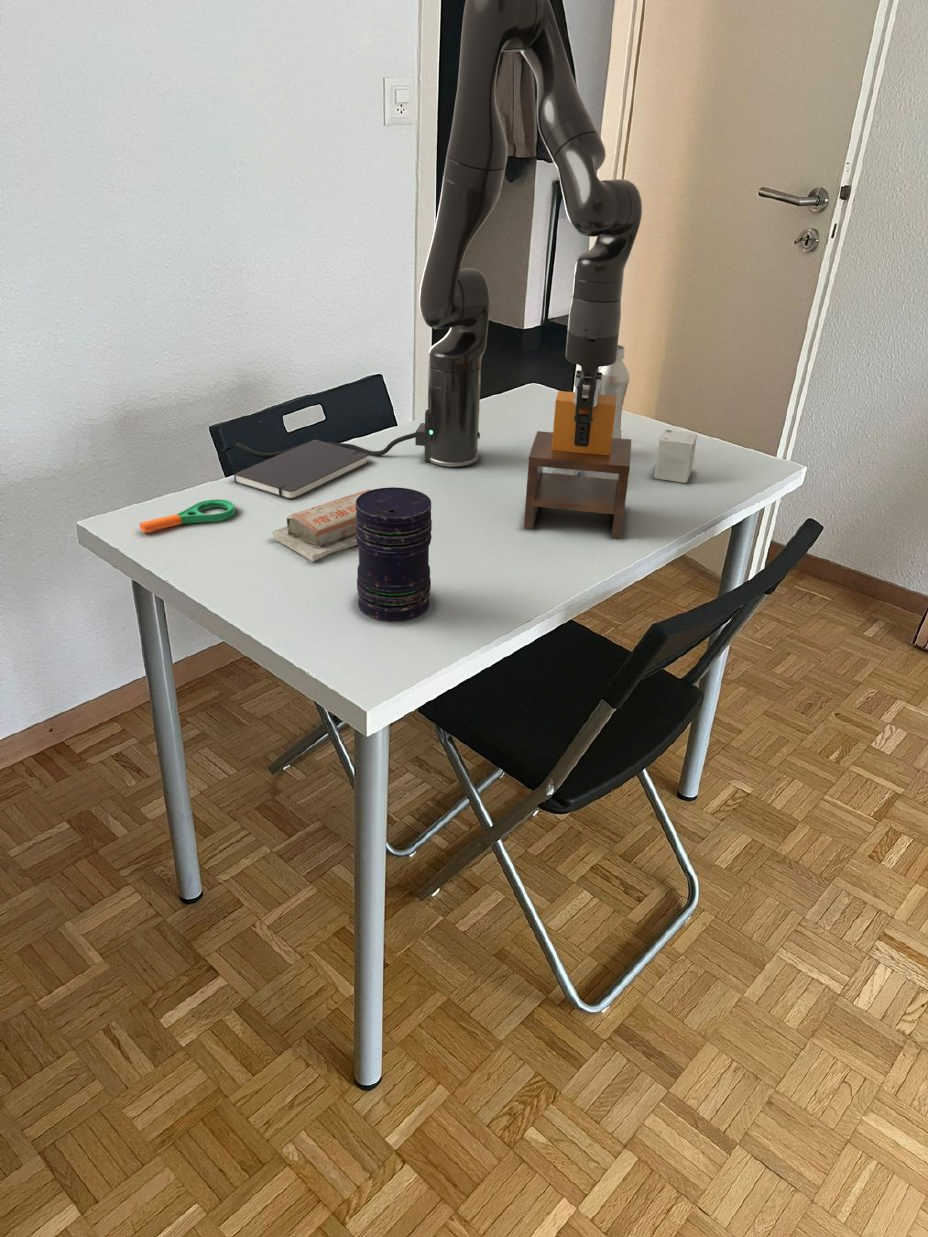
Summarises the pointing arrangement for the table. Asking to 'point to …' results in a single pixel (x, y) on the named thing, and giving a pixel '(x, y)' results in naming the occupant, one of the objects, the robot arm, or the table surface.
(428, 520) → the storage jar
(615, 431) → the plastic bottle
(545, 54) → the robot arm
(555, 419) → the packet
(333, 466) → the notebook
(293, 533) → the packaged product
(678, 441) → the product carton
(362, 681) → the table surface
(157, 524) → the magnifying glass
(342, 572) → the table surface
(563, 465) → the wooden shelf
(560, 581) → the table surface
